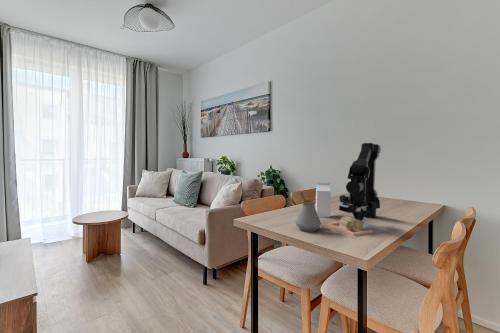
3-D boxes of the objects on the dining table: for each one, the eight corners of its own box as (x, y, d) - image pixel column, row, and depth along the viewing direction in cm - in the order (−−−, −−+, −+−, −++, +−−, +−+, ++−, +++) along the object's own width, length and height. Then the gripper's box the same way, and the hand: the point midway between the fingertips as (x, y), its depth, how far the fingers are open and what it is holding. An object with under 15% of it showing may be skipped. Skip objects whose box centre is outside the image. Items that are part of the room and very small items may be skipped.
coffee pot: (324, 232, 108) (325, 199, 107) (298, 232, 108) (299, 199, 107) (311, 219, 130) (311, 191, 129) (289, 219, 129) (289, 191, 128)
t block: (346, 224, 117) (347, 216, 117) (364, 230, 108) (365, 221, 108) (334, 227, 113) (334, 218, 113) (351, 233, 104) (352, 224, 104)
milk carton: (330, 218, 131) (331, 183, 130) (316, 218, 132) (317, 183, 131) (328, 215, 138) (329, 182, 137) (315, 214, 139) (316, 181, 138)
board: (356, 221, 126) (356, 218, 125) (390, 232, 109) (390, 227, 109) (325, 227, 116) (325, 222, 116) (356, 239, 100) (356, 234, 100)
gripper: (358, 187, 124) (357, 218, 124) (330, 190, 115) (330, 223, 116) (378, 190, 114) (377, 223, 114) (349, 194, 105) (348, 229, 106)
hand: (358, 224), depth 113 cm, fingers closed
